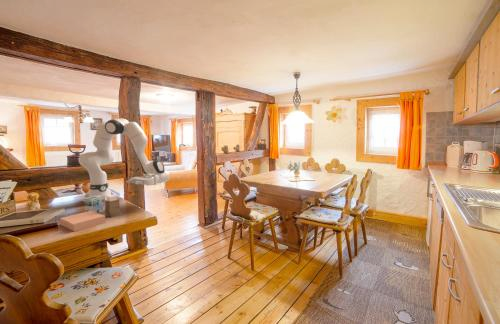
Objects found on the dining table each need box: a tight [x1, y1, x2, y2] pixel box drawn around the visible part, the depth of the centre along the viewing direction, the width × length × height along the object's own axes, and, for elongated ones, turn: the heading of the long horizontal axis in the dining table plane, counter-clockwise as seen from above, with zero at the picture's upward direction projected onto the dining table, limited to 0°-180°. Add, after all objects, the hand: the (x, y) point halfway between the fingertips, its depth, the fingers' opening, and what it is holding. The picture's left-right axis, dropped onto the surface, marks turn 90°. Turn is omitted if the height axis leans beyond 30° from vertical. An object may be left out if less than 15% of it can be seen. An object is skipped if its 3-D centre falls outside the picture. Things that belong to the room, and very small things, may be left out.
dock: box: [59, 211, 106, 232], centre depth 140 cm, size 18×16×4 cm
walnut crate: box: [104, 198, 121, 218], centre depth 154 cm, size 6×6×10 cm
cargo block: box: [106, 194, 118, 202], centre depth 153 cm, size 4×4×3 cm
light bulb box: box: [83, 195, 106, 214], centre depth 160 cm, size 11×7×11 cm, turn 168°
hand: (131, 182), depth 163 cm, fingers open, 8 cm apart
